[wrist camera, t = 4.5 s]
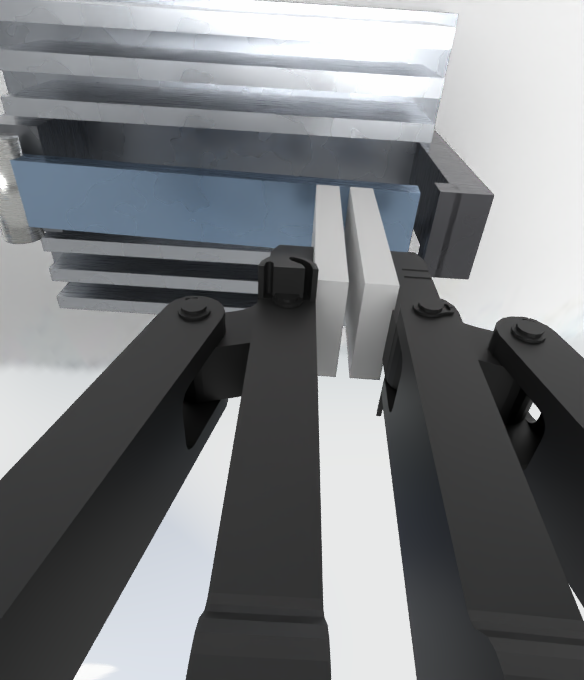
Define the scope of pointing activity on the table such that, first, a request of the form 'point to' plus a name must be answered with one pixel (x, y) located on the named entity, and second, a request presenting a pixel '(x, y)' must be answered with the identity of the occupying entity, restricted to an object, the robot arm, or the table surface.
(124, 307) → the heatsink
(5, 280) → the table surface
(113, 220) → the blue long flat bar
